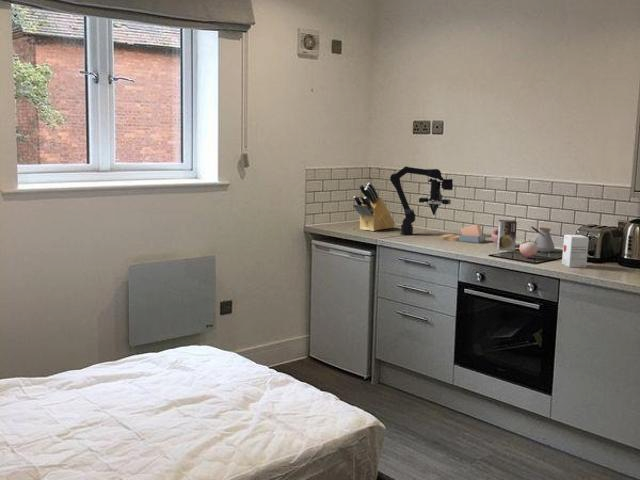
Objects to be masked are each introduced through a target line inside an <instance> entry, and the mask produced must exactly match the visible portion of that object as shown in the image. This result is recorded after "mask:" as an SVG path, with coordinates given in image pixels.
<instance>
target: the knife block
mask: <svg viewBox="0 0 640 480" xmlns="http://www.w3.org/2000/svg"><path fill="white" fill-rule="evenodd" d="M359 189H360V191H361V192H362V194H363V195H364V196H361V195H359V196H358V197H357V196H356V195H354V196H353V199H354V201H355V203H356V204H353V208H354V210H355V211H356V212H357V213H358V215H359V230H361V231H372V232H375V231H380V230H386V229H392V228H394V227H395V224H396V223H395V221H394V218H392V216H391V213H390V211H389V210H388V208H387V206H386V203H385V202H384V200H383V198H382V196H379V194H378V192H377V190H376V188H375V187H374V185H373V183H371V182H368V183H367V185H366V186H364V185H363V184H360V185H359ZM360 199H361V200H360Z"/></svg>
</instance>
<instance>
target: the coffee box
mask: <svg viewBox="0 0 640 480" xmlns="http://www.w3.org/2000/svg"><path fill="white" fill-rule="evenodd" d="M517 222H518V221H516V220H514V219H513V220H512V219H511V220H510V219H498V227H497V228H498V243H497V244H496V245H497V247H496V248H497V249H498V250H501V251H515V250H516V242H517V241H516V240H517V224H518V223H517Z"/></svg>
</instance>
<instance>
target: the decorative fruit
mask: <svg viewBox="0 0 640 480" xmlns="http://www.w3.org/2000/svg"><path fill="white" fill-rule="evenodd" d="M534 242H535V240H531V239H530V238H529V240H523V241H521V242H520V245H519V252H520V253H521V255H522V256H524V257H525V258H526V257H527V258H526V259H530V258H532V257H534V256H535V255H536V254H537V253H538V252H537V251H538V246H537V245H536V244H537V243H536V242H535V243H534Z"/></svg>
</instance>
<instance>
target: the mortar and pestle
mask: <svg viewBox="0 0 640 480" xmlns="http://www.w3.org/2000/svg"><path fill="white" fill-rule="evenodd" d="M491 240H492V242H493V243H494V244H495V245H497V243H498V227H496V228H493V230H492V231H491Z"/></svg>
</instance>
